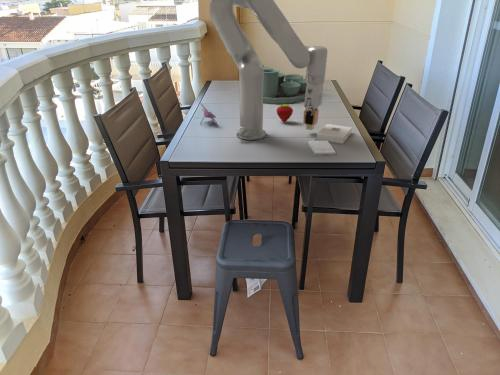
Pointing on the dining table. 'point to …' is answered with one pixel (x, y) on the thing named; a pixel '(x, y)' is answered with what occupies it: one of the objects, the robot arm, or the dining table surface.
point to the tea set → (282, 87)
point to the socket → (334, 133)
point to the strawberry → (284, 112)
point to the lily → (207, 114)
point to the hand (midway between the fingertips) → (310, 122)
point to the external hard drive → (321, 147)
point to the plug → (315, 119)
